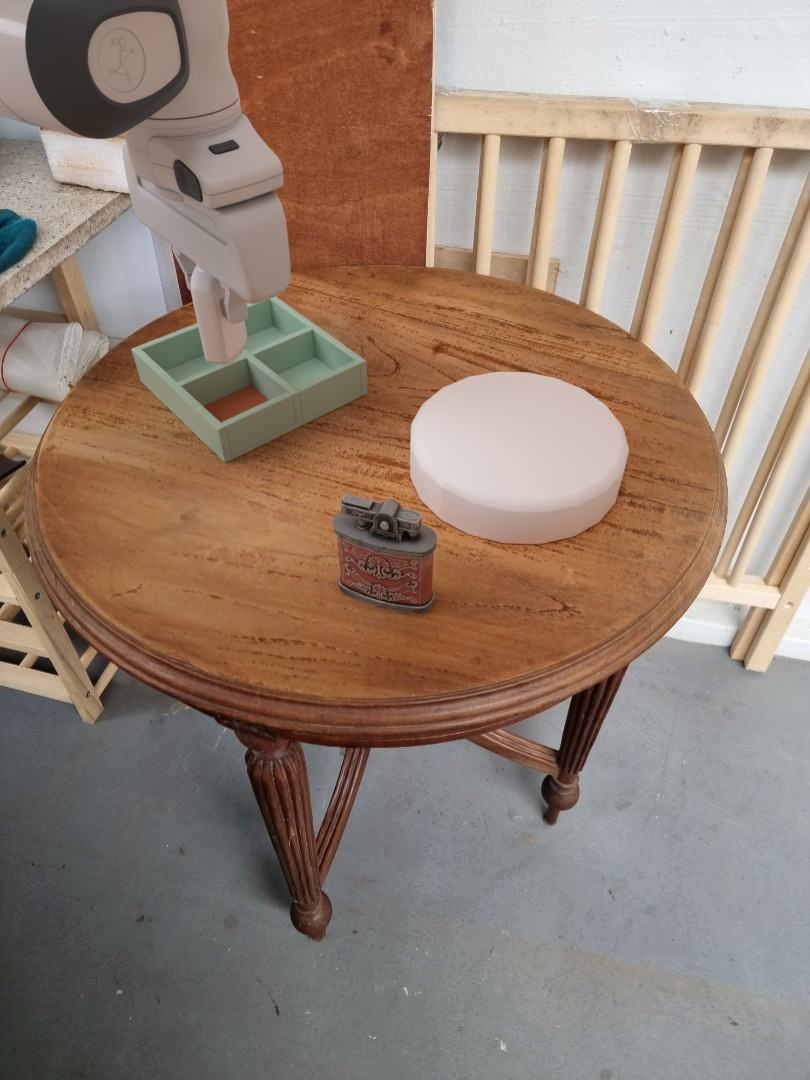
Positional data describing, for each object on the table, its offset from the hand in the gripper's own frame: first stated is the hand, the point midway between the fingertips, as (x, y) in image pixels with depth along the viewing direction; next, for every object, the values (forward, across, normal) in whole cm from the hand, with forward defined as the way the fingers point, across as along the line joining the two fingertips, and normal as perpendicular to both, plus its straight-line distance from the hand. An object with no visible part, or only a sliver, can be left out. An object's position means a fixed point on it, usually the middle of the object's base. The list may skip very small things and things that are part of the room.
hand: (218, 305), depth 69 cm
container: (+13, +23, +16) cm, 31 cm away
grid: (+13, -4, +4) cm, 14 cm away
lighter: (+13, +27, -3) cm, 30 cm away
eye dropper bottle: (+5, 0, 0) cm, 5 cm away
